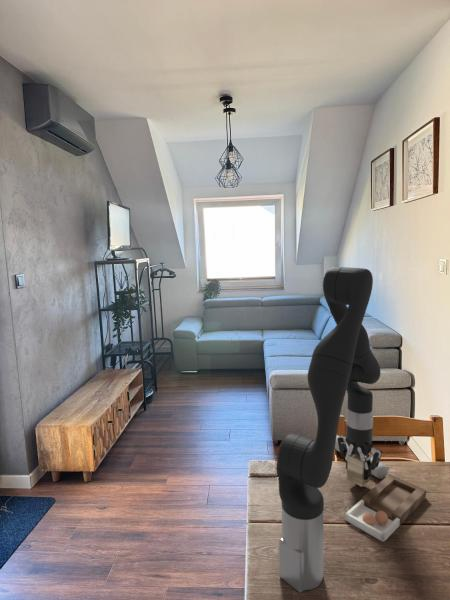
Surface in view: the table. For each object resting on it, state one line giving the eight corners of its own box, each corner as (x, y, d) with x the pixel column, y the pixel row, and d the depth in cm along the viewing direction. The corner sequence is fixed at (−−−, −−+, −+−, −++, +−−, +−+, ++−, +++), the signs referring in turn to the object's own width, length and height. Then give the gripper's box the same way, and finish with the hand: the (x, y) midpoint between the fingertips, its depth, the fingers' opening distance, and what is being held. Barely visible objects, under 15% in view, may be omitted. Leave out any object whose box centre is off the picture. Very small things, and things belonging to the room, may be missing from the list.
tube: (393, 466, 126) (338, 432, 148) (382, 465, 124) (327, 431, 146) (388, 482, 126) (334, 445, 148) (377, 482, 124) (323, 445, 146)
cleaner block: (361, 486, 120) (362, 462, 118) (347, 479, 124) (347, 455, 122) (369, 480, 123) (370, 456, 121) (355, 473, 126) (355, 450, 125)
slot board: (399, 525, 106) (400, 516, 106) (362, 505, 115) (362, 497, 114) (425, 498, 117) (426, 490, 116) (389, 481, 125) (389, 474, 125)
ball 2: (378, 528, 105) (391, 525, 105) (374, 516, 105) (387, 513, 105) (376, 521, 108) (388, 518, 108) (372, 509, 109) (384, 507, 108)
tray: (383, 542, 101) (383, 535, 100) (345, 520, 109) (345, 513, 109) (399, 525, 106) (399, 518, 106) (361, 505, 114) (361, 499, 114)
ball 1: (370, 529, 104) (375, 517, 104) (358, 521, 106) (363, 510, 106) (374, 529, 106) (378, 517, 106) (363, 521, 108) (367, 510, 108)
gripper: (331, 419, 123) (331, 470, 126) (375, 435, 112) (373, 490, 115) (345, 411, 128) (344, 460, 130) (388, 426, 117) (386, 479, 120)
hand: (358, 474), depth 123 cm, fingers closed on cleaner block, 5 cm apart
